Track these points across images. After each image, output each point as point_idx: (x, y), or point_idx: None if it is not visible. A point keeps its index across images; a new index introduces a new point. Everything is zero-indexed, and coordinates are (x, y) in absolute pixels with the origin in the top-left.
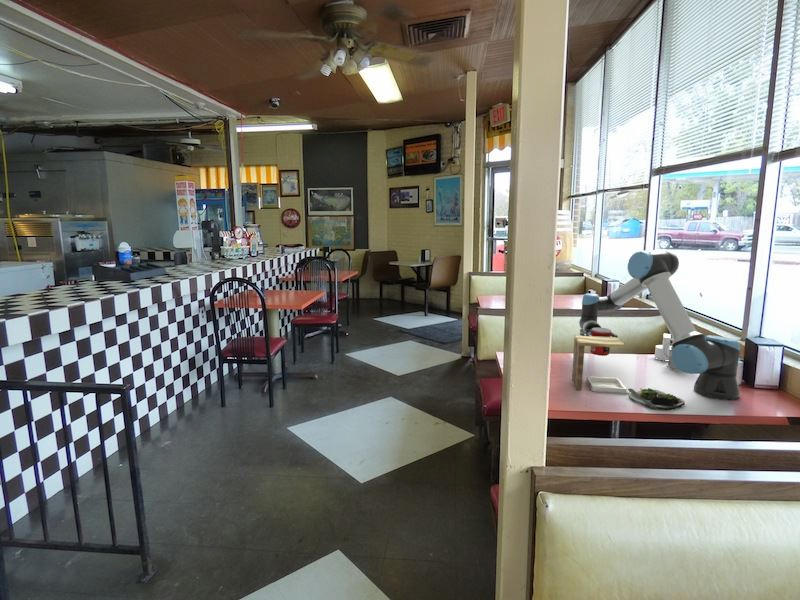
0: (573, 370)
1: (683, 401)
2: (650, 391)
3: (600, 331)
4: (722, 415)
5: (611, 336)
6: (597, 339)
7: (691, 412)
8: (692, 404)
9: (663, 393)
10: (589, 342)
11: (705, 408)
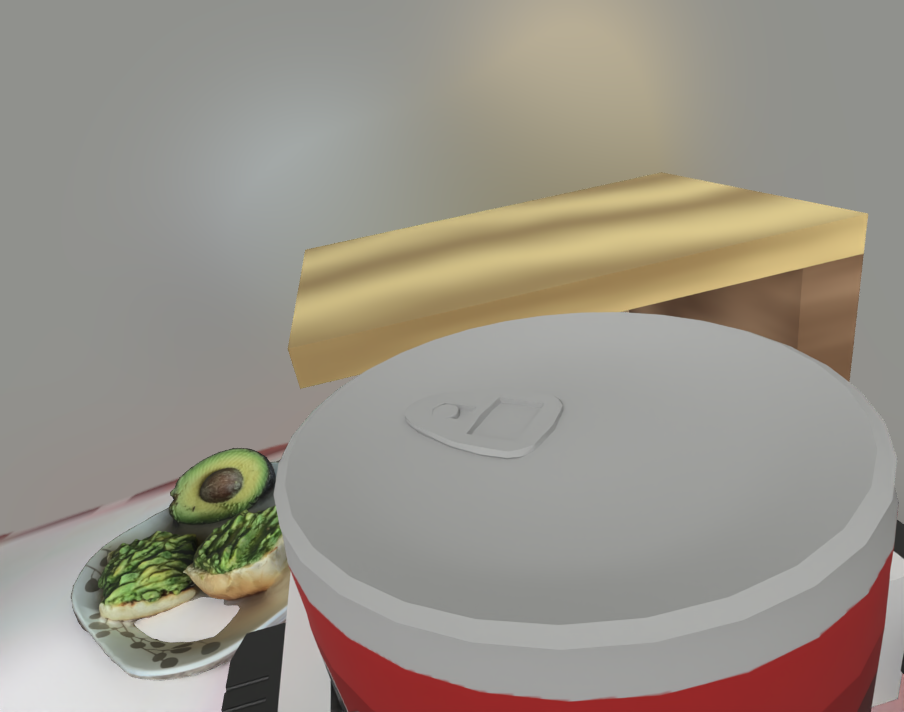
0: None
1: (94, 557)
2: (232, 536)
3: (544, 317)
4: (3, 539)
5: (288, 695)
6: (542, 237)
7: (128, 512)
8: (38, 602)
9: (118, 648)
10: (590, 192)
11: (11, 580)
